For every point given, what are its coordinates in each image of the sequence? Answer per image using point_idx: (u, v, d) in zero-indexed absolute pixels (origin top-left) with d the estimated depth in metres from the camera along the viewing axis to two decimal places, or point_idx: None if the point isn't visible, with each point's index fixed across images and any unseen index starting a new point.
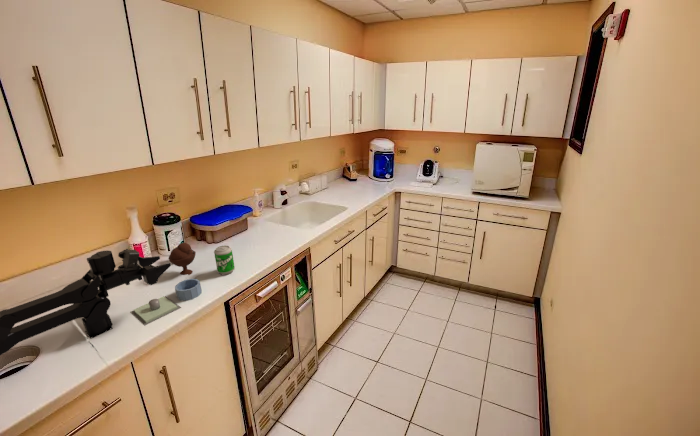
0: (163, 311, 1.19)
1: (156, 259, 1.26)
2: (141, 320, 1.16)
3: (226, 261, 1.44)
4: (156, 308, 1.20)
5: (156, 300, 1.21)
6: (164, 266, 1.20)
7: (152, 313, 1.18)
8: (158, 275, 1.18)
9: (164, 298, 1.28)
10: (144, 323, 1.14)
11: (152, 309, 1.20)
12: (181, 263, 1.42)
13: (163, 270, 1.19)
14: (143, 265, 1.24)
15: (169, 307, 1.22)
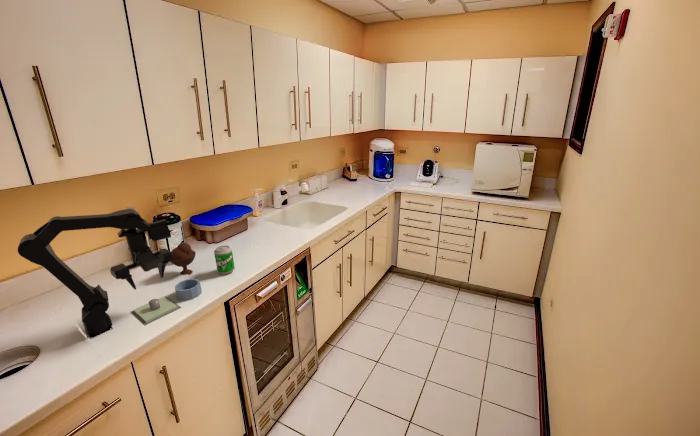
0: (163, 311, 1.19)
1: (160, 275, 1.21)
2: (141, 320, 1.16)
3: (226, 261, 1.44)
4: (156, 308, 1.20)
5: (156, 300, 1.21)
6: (130, 284, 1.13)
7: (152, 313, 1.18)
8: None
9: (164, 298, 1.28)
10: (144, 323, 1.14)
11: (152, 309, 1.20)
12: (181, 263, 1.42)
13: (128, 281, 1.13)
14: None
15: (169, 307, 1.22)
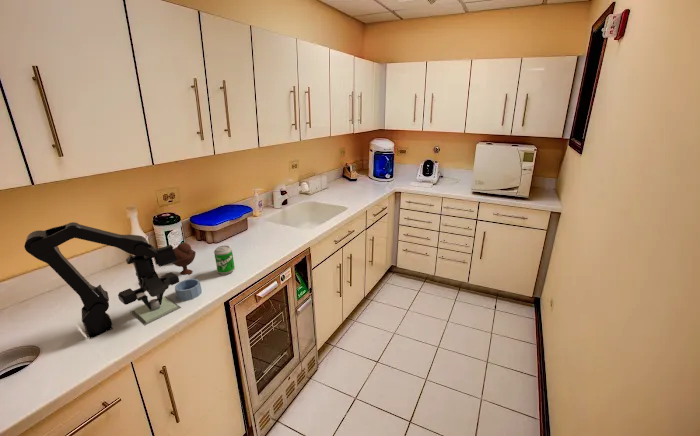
0: (163, 311, 1.19)
1: None
2: (141, 320, 1.16)
3: (226, 261, 1.44)
4: (156, 308, 1.20)
5: (156, 300, 1.21)
6: (146, 304, 1.18)
7: (152, 313, 1.18)
8: None
9: (164, 298, 1.28)
10: (144, 323, 1.14)
11: (152, 309, 1.20)
12: (181, 263, 1.42)
13: None
14: None
15: (169, 307, 1.22)
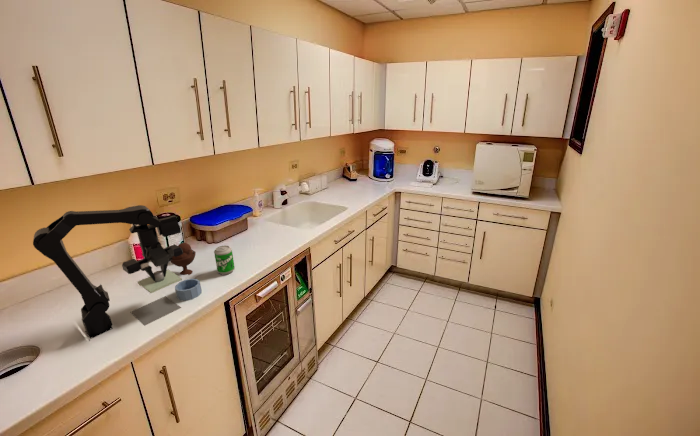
0: (167, 282, 1.18)
1: None
2: (141, 320, 1.16)
3: (226, 261, 1.44)
4: (160, 280, 1.19)
5: (160, 272, 1.20)
6: (150, 276, 1.17)
7: (156, 284, 1.18)
8: None
9: (168, 271, 1.27)
10: (144, 323, 1.14)
11: (156, 281, 1.19)
12: (181, 263, 1.42)
13: (147, 273, 1.18)
14: None
15: (173, 279, 1.21)
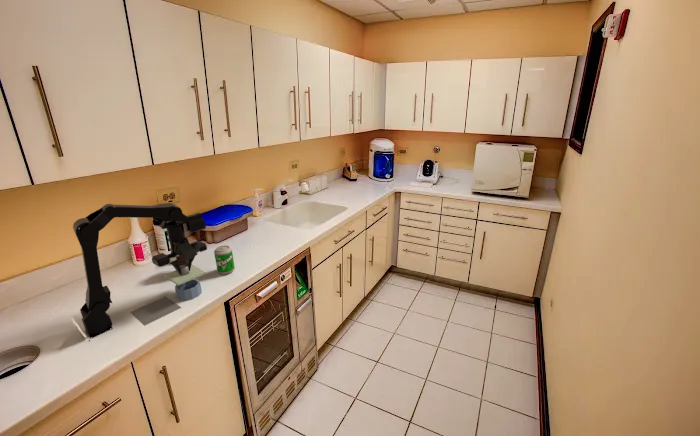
0: (193, 276, 1.26)
1: None
2: (141, 320, 1.16)
3: (226, 261, 1.44)
4: (186, 273, 1.27)
5: (186, 266, 1.27)
6: (177, 269, 1.25)
7: (182, 277, 1.25)
8: None
9: (192, 265, 1.34)
10: (144, 323, 1.14)
11: (182, 274, 1.26)
12: (181, 263, 1.42)
13: (174, 267, 1.25)
14: None
15: (198, 273, 1.28)
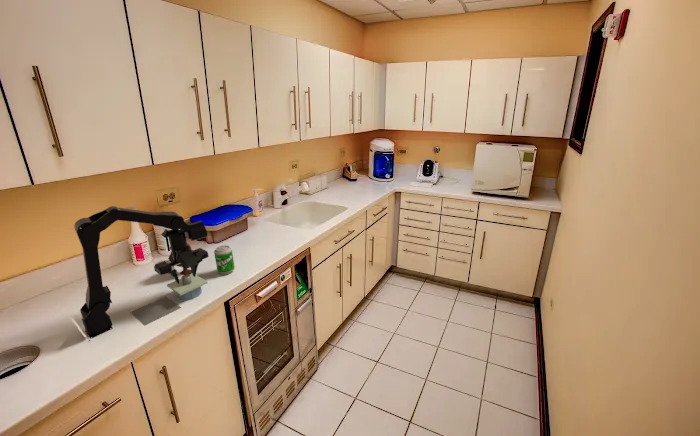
0: (195, 285, 1.27)
1: (192, 273, 1.31)
2: (141, 320, 1.16)
3: (226, 261, 1.44)
4: (188, 283, 1.28)
5: (188, 275, 1.29)
6: (175, 278, 1.25)
7: (184, 287, 1.27)
8: None
9: None
10: (144, 323, 1.14)
11: (184, 284, 1.28)
12: None
13: (172, 276, 1.25)
14: None
15: (200, 282, 1.30)
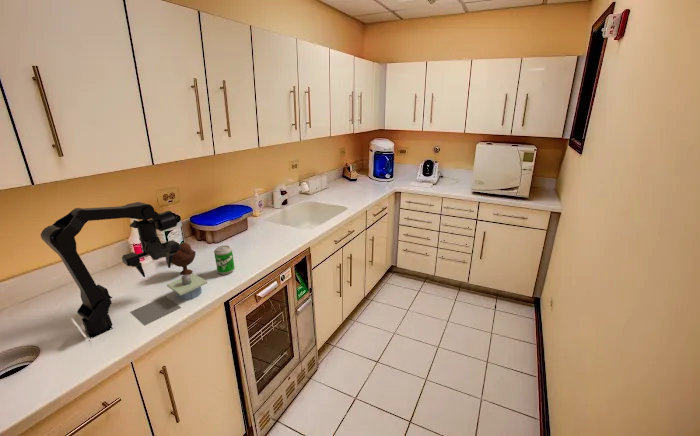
0: (195, 285, 1.27)
1: (167, 264, 1.29)
2: (141, 320, 1.16)
3: (226, 261, 1.44)
4: (188, 283, 1.28)
5: (188, 275, 1.29)
6: (140, 272, 1.21)
7: (184, 287, 1.27)
8: None
9: (194, 274, 1.36)
10: (144, 323, 1.14)
11: (184, 284, 1.28)
12: (181, 263, 1.42)
13: (137, 269, 1.21)
14: None
15: (200, 282, 1.30)
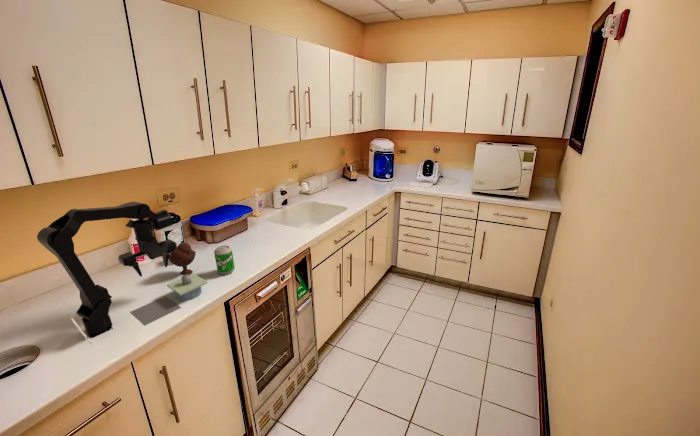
0: (195, 285, 1.27)
1: (164, 263, 1.29)
2: (141, 320, 1.16)
3: (226, 261, 1.44)
4: (188, 283, 1.28)
5: (188, 275, 1.29)
6: (137, 271, 1.21)
7: (184, 287, 1.27)
8: None
9: (194, 274, 1.36)
10: (144, 323, 1.14)
11: (184, 284, 1.28)
12: (181, 263, 1.42)
13: None
14: (162, 252, 1.29)
15: (200, 282, 1.30)
